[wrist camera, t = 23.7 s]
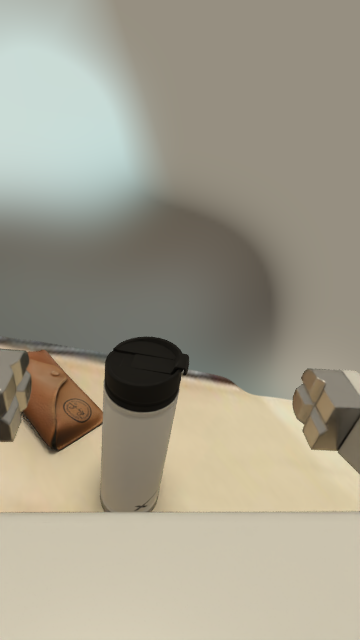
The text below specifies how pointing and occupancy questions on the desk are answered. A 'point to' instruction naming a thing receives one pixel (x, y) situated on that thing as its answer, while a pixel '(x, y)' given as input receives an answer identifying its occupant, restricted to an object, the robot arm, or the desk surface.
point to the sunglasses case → (58, 403)
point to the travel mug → (138, 420)
